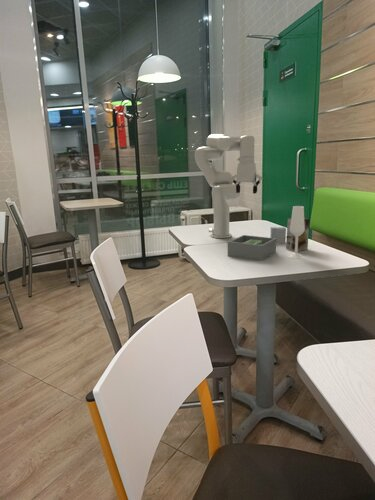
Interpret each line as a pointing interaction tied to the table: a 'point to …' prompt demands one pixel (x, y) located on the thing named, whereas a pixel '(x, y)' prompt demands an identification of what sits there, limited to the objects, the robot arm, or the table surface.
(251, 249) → the box
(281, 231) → the medicine box
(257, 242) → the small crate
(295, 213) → the champagne flute
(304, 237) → the coffee box
